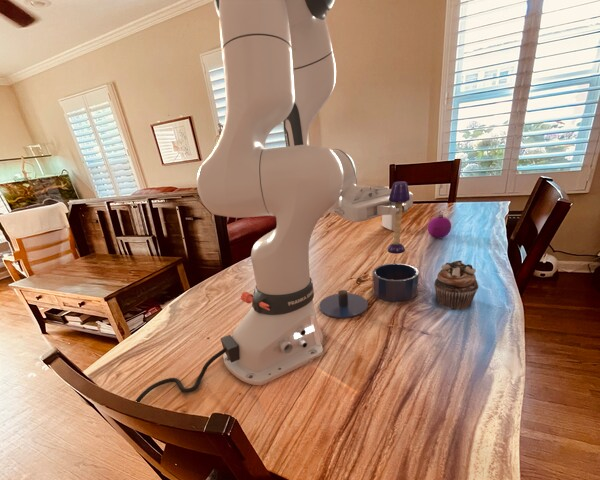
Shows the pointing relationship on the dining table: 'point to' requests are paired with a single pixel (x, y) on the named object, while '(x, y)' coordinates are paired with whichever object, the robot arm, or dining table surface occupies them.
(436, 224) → the christmas ornament
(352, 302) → the pot lid
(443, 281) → the cupcake
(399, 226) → the toy lamp
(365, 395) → the dining table surface
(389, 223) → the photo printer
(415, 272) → the pot
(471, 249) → the dining table surface
